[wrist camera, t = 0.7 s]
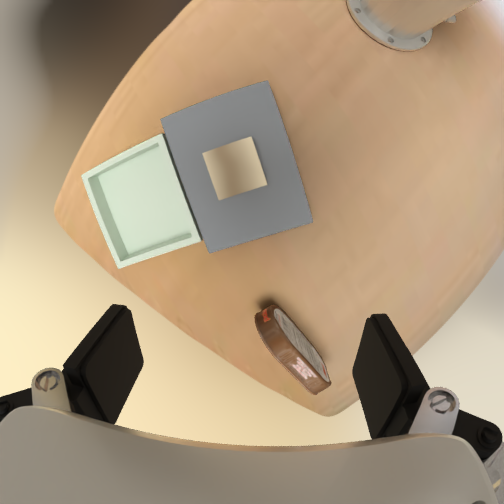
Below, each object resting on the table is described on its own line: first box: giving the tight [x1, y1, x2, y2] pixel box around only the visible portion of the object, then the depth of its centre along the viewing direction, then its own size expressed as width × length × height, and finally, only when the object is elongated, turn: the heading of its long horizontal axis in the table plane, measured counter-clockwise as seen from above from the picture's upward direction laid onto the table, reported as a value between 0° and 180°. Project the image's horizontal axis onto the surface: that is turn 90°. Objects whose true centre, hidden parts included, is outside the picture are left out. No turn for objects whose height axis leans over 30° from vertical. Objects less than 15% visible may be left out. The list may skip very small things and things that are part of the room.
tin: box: [255, 305, 331, 395], centre depth 35 cm, size 15×3×8 cm, turn 37°
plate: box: [160, 80, 313, 253], centre depth 30 cm, size 12×16×4 cm
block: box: [202, 137, 267, 200], centre depth 27 cm, size 5×5×2 cm
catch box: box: [81, 133, 203, 269], centre depth 32 cm, size 12×13×3 cm
